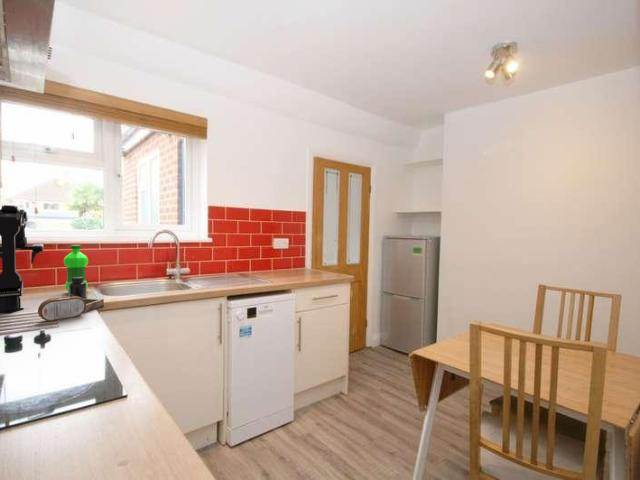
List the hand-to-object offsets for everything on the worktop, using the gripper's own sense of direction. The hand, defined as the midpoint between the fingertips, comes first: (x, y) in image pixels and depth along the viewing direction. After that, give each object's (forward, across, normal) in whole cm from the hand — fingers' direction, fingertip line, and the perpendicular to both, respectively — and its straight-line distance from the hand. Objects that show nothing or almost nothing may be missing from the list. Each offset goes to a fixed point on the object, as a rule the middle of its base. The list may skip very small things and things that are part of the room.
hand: (19, 264), depth 165 cm
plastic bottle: (+14, -23, +9) cm, 28 cm away
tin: (+2, -20, +59) cm, 62 cm away
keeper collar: (+5, -25, +46) cm, 52 cm away
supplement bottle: (+8, -24, +33) cm, 41 cm away
